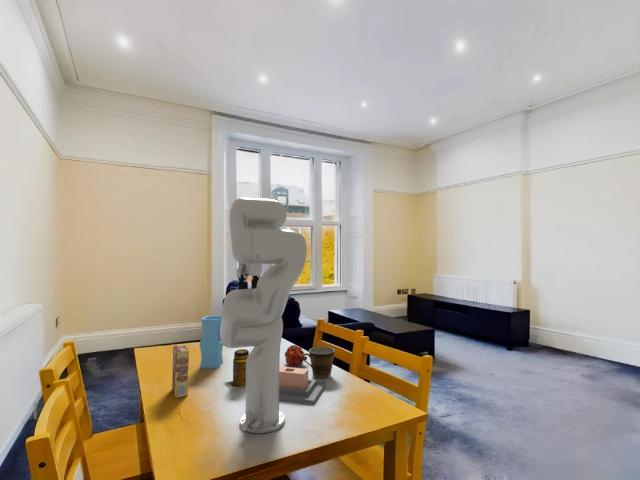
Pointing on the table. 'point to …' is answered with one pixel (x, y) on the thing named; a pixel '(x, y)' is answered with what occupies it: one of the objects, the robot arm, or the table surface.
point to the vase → (211, 342)
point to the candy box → (180, 371)
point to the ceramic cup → (321, 361)
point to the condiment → (239, 369)
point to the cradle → (302, 393)
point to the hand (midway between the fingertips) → (249, 291)
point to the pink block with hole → (293, 377)
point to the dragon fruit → (294, 355)
